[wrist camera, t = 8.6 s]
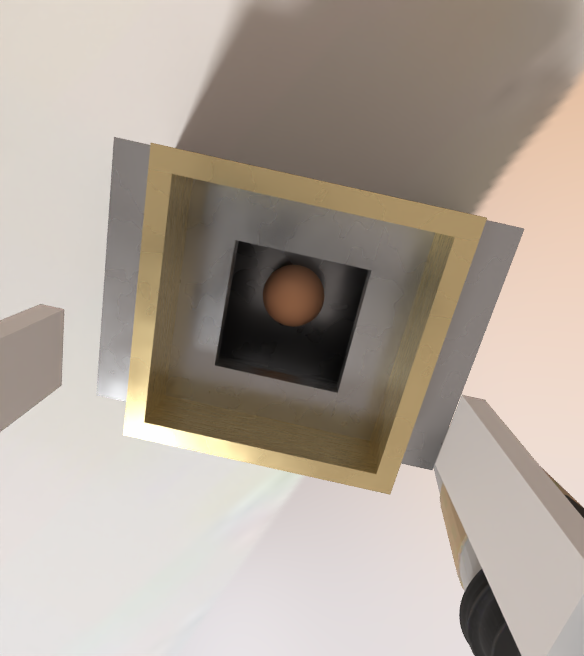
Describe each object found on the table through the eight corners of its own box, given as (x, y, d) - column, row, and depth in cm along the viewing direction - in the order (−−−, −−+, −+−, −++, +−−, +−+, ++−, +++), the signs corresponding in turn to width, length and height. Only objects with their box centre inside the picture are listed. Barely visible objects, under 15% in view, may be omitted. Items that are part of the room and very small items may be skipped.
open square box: (150, 347, 31) (66, 422, 21) (172, 154, 27) (78, 126, 17) (405, 404, 31) (447, 507, 21) (467, 220, 27) (559, 234, 17)
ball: (263, 310, 29) (251, 325, 25) (274, 255, 28) (263, 262, 24) (318, 323, 29) (314, 341, 25) (331, 268, 28) (329, 278, 24)
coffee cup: (500, 379, 30) (660, 540, 16) (550, 473, 32) (729, 690, 18) (386, 434, 32) (437, 621, 18) (439, 519, 34) (523, 747, 20)
